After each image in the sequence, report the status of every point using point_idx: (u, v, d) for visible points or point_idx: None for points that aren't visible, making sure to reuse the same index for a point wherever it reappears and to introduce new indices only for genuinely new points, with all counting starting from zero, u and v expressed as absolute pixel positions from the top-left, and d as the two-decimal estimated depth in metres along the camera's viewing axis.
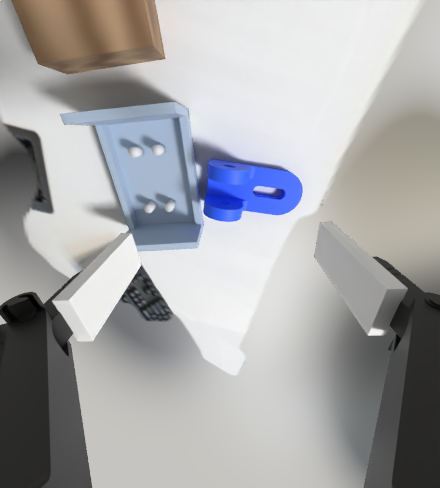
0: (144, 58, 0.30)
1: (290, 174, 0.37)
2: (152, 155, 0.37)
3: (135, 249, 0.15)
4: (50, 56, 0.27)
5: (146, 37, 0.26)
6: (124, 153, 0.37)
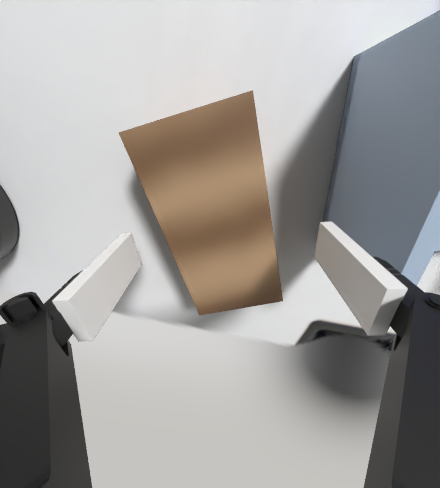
0: None
1: None
2: None
3: (135, 249, 0.15)
4: (274, 285, 0.18)
5: (240, 109, 0.11)
6: None
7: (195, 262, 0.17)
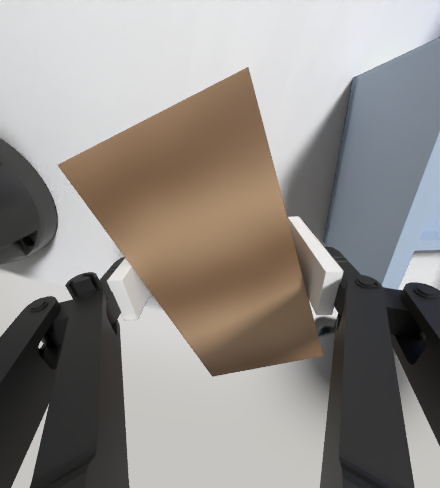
0: None
1: None
2: None
3: None
4: (309, 338, 0.13)
5: (231, 102, 0.07)
6: None
7: (196, 319, 0.12)
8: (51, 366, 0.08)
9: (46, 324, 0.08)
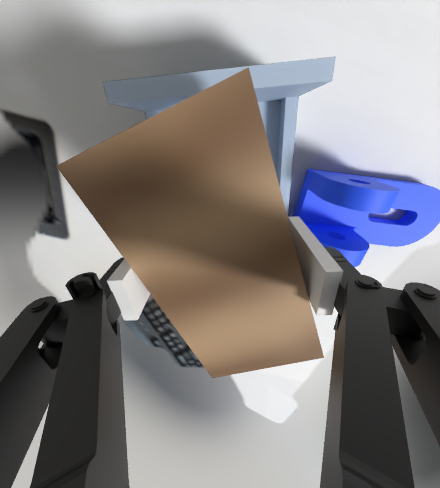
0: None
1: (433, 189, 0.24)
2: None
3: None
4: (309, 340, 0.13)
5: (231, 102, 0.07)
6: None
7: (196, 321, 0.12)
8: (51, 366, 0.08)
9: (46, 324, 0.08)
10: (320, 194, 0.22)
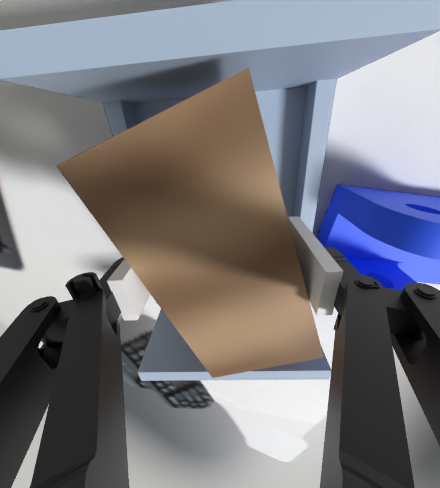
0: None
1: None
2: None
3: None
4: (309, 340, 0.13)
5: (231, 102, 0.07)
6: None
7: (196, 321, 0.12)
8: (51, 366, 0.08)
9: (46, 324, 0.08)
10: (363, 226, 0.15)
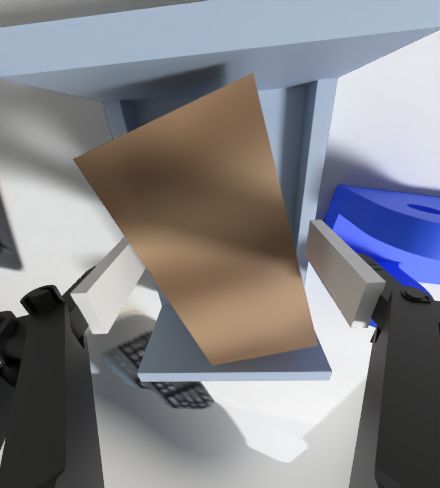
0: None
1: None
2: None
3: None
4: (305, 328, 0.13)
5: (236, 104, 0.08)
6: None
7: (198, 309, 0.13)
8: (12, 384, 0.08)
9: (3, 340, 0.08)
10: (364, 227, 0.15)
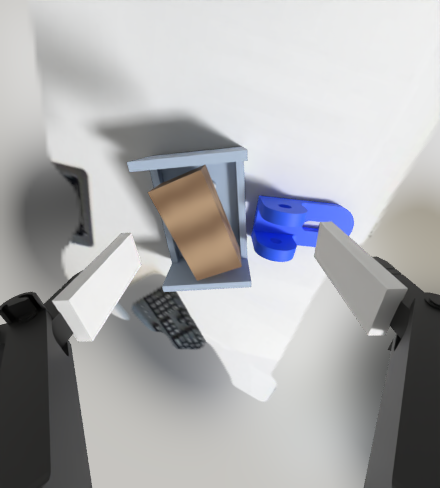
0: (211, 183, 0.31)
1: (342, 209, 0.36)
2: None
3: (135, 249, 0.15)
4: (234, 257, 0.32)
5: (197, 177, 0.27)
6: None
7: (189, 249, 0.32)
8: None
9: None
10: (261, 214, 0.33)
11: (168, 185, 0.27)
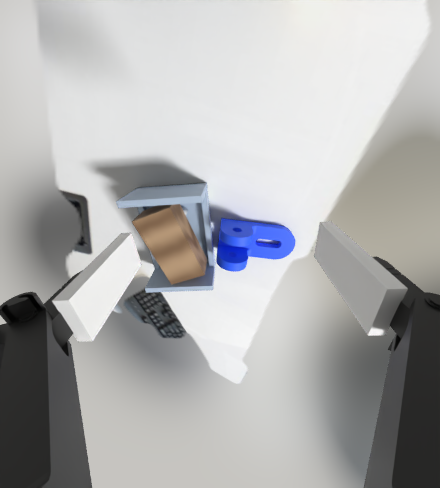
0: (180, 213, 0.41)
1: (285, 230, 0.47)
2: None
3: (135, 249, 0.15)
4: (198, 268, 0.43)
5: (167, 212, 0.37)
6: None
7: (164, 261, 0.42)
8: None
9: None
10: (219, 235, 0.44)
11: (146, 217, 0.37)
